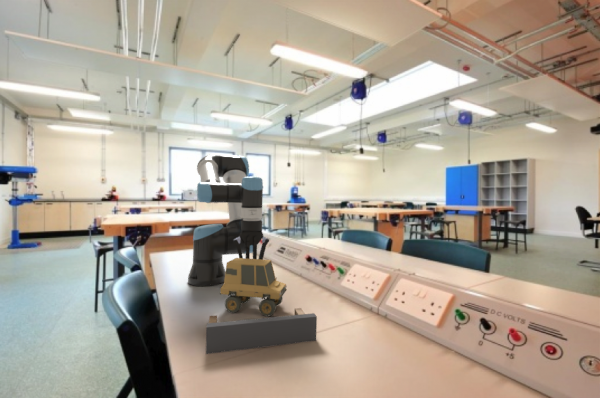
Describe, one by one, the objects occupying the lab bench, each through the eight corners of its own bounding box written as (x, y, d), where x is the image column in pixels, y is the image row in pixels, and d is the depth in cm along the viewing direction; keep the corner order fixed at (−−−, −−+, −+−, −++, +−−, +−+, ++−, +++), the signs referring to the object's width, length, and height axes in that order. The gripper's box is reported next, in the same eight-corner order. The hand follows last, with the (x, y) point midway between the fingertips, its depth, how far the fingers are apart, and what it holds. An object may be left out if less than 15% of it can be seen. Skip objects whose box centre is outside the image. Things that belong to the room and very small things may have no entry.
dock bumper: (206, 348, 65) (207, 322, 65) (313, 335, 71) (313, 312, 71) (205, 354, 62) (206, 327, 62) (316, 340, 69) (316, 316, 69)
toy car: (278, 318, 81) (279, 267, 81) (218, 312, 85) (219, 263, 85) (286, 305, 92) (287, 259, 91) (232, 300, 95) (233, 256, 95)
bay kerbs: (209, 325, 76) (209, 316, 76) (300, 316, 83) (301, 307, 83) (206, 349, 64) (206, 338, 64) (313, 336, 71) (313, 326, 71)
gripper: (233, 220, 96) (232, 289, 96) (271, 220, 99) (270, 286, 99) (232, 218, 103) (231, 282, 103) (268, 218, 106) (267, 280, 106)
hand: (250, 284), depth 101 cm, fingers closed
